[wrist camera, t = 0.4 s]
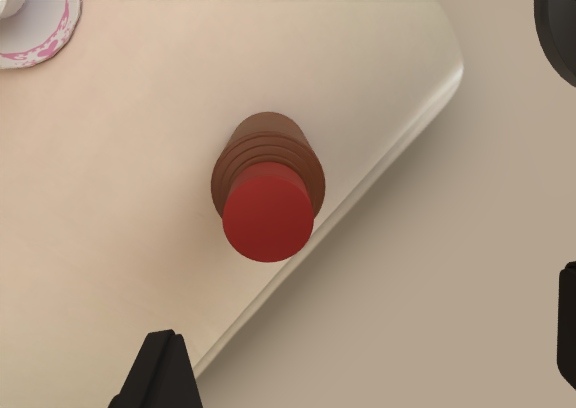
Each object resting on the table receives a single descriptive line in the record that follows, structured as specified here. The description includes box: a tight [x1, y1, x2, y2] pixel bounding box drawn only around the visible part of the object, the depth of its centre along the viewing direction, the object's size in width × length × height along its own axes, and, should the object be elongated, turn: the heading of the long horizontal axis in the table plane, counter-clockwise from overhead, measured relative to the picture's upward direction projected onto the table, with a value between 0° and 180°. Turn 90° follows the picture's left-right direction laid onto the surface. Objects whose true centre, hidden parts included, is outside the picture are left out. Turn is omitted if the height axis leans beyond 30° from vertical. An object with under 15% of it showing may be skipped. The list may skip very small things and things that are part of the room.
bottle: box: [211, 112, 325, 219], centre depth 27 cm, size 6×6×17 cm
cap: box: [222, 162, 314, 262], centre depth 20 cm, size 4×4×3 cm
